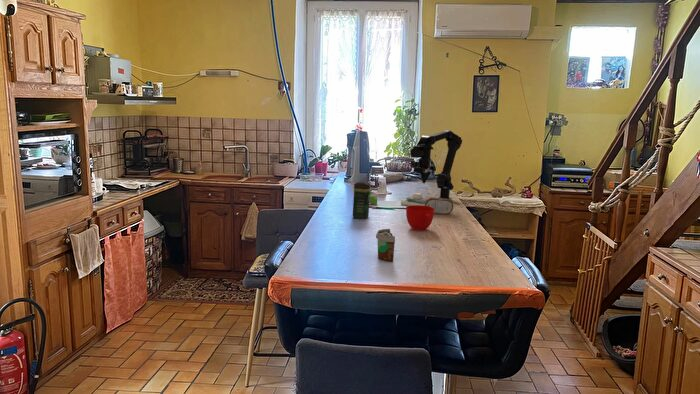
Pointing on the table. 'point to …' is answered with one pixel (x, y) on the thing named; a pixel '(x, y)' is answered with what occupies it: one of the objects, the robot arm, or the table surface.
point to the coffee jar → (361, 199)
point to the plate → (416, 199)
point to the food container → (385, 245)
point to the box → (409, 203)
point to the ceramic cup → (419, 216)
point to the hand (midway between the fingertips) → (423, 183)
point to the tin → (440, 205)
